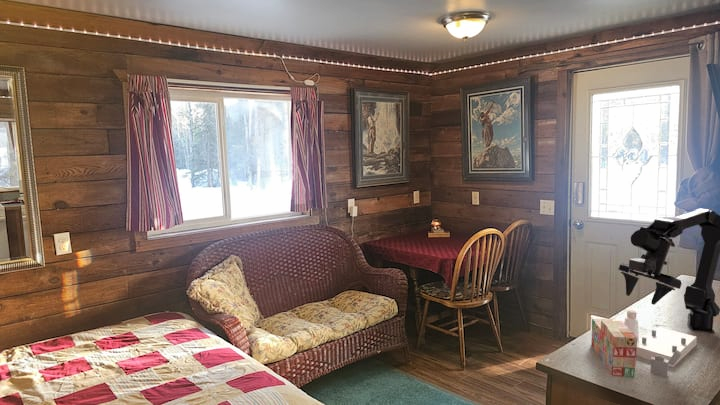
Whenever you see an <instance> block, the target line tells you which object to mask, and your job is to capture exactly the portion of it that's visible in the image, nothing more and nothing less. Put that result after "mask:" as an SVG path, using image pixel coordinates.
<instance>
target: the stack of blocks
mask: <svg viewBox="0 0 720 405" xmlns="http://www.w3.org/2000/svg"><path fill="white" fill-rule="evenodd" d="M591 346H592V348H593V349H594V351H595V352H596V354H597V355H598V357H599V358H600V360H601V362H602V363H603V364H604V366H605V368H606V370H607V371H608V372H609V374H610V376H612V377H622V378H623V377H625V378H635V376H636V358H637V356H636V352H637V337H636V336H635V335H634V334H633V332H632V331H631V330H630V329H629V328H628V327H627V326H626V325H625V324H624V322H623V321H622V320H613V319H611V318H591Z"/></svg>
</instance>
